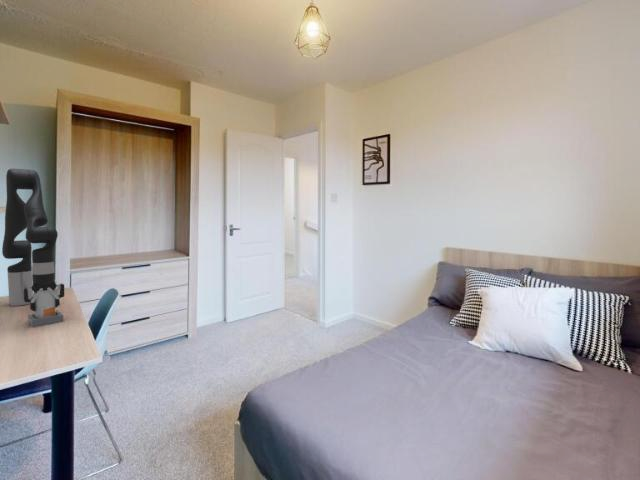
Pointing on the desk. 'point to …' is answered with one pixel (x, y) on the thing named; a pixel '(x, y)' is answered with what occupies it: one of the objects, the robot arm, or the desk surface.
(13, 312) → the desk surface
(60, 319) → the frame
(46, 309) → the skincare box
